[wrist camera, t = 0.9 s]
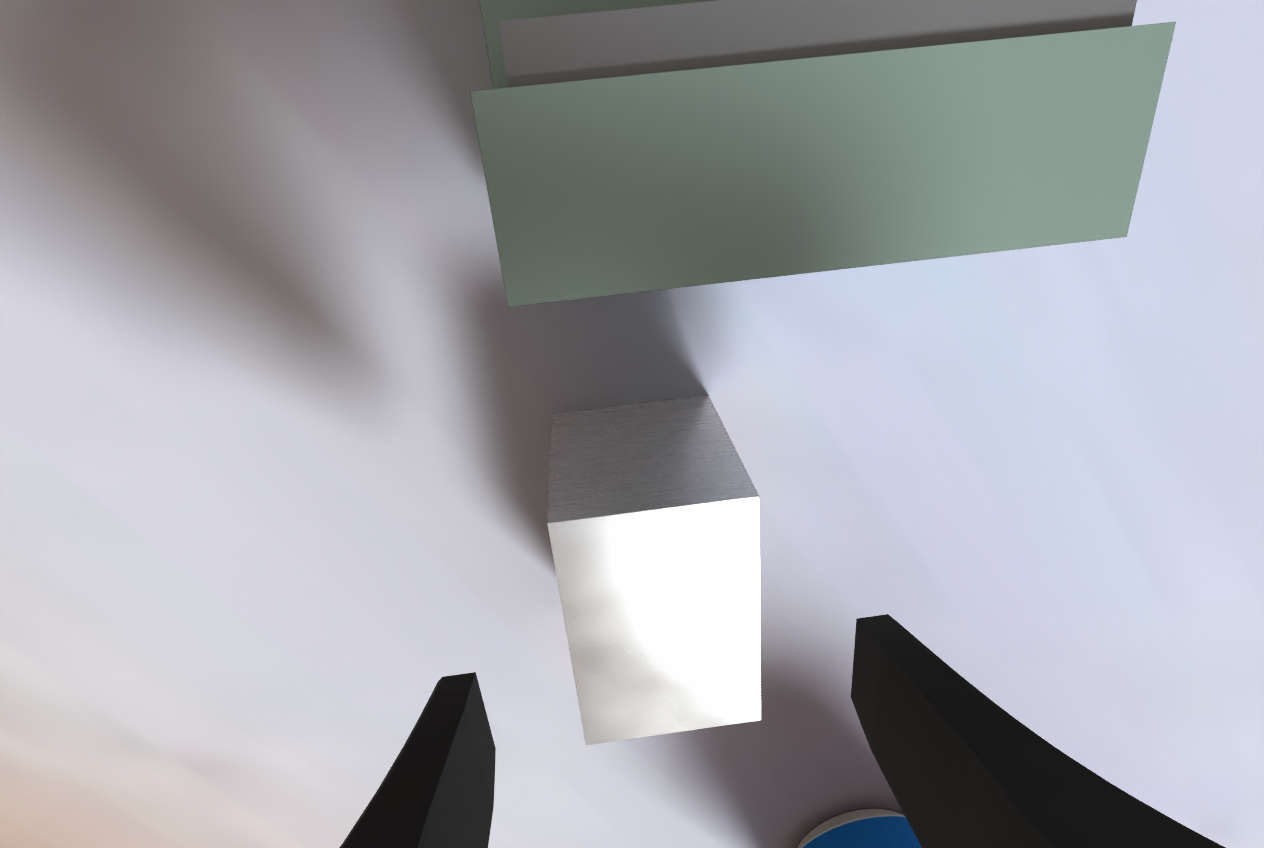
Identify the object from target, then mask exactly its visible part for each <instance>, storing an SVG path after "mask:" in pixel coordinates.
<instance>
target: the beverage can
mask: <svg viewBox="0 0 1264 848" xmlns="http://www.w3.org/2000/svg"><path fill="white" fill-rule="evenodd" d="M797 848H922V847H921V845H920V843H919V841H918V840H917V838H916V836H915V834H914V832H913V830H912V828H911V826H910V824H909V822H908V820H907V819H906V817H905V816H904V815H902V814H900V813H898V812H895V811H891V810H885V809H863V810H856V811H851V812H847V813H844V814H841V815H838V816H836V817H833V818H831V819H829V820H827V821H825V822H823V823H822V824H820V825H818V826H817V827H816V828H814V829H813V830H812V831H810V832H809V833H808V834H807V835H806V836H805V837H804V838H803V840H802V841H801V842H800V844H799V845H798V847H797Z"/></svg>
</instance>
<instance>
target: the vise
mask: <svg viewBox="0 0 1264 848" xmlns="http://www.w3.org/2000/svg"><path fill="white" fill-rule="evenodd" d="M479 1H480V7H481V13H482V20H483V26H484V32H485V38H486V44H487V50H488V57H489V63H490V69H491V75H492V81H493V88H494V89H501V88H508V84H507V77H506V71H505V64H504V58H503V51H502V44H501V38H500V31H499V25H498V21H505V20H516V19H527V18H537V17H548V16H559V15H569V14H580V13H590V12H601V11H612V10H622V9H633V8H643V7H654V6H665V5H675V4H686V3H696V2H707V1H718V0H479Z"/></svg>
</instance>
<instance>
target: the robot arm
mask: <svg viewBox="0 0 1264 848" xmlns="http://www.w3.org/2000/svg"><path fill="white" fill-rule="evenodd" d="M851 698H852V701H853V704H854V706H855V709H856V712H857V714H858V717H859V720H860V723H861V725H862V728H863V730H864V733H865V735H866V738H867V740H868V743H869V746H870V748H871V751H872V753H873V754H874V756H875V758H876V760H877V762H878V764H879V766H880V768H881V770H882V772H883V774H884V776H885V778H886V780H887V782H888V784H889V786H890V788H891V790H892V792H893V794H894V796H895V797H896V799H897V801H898V803H899V805H900V807H901V809H902V811H903V813H904V815H905V817H906V819H907V820H908V822H909V824H910V826H911V828H912V830H913V832H914V834H915V836H916V838H917V840H918V841H919V843H920V845H921V847H922V848H1225V847H1223V846H1221V845H1219V844H1217V843H1215V842H1214V841H1212V840H1210V839H1208V838H1206V837H1204V836H1202V835H1200V834H1198V833H1197V832H1195V831H1193V830H1191V829H1189V828H1187V827H1185V826H1183V825H1182V824H1180V823H1178V822H1176V821H1175V820H1173V819H1171V818H1169V817H1168V816H1166V815H1164V814H1162V813H1160V812H1159V811H1157V810H1155V809H1153V808H1152V807H1150V806H1148V805H1146V804H1145V803H1143V802H1141V801H1139V800H1138V799H1136V798H1134V797H1132V796H1131V795H1129V794H1127V793H1126V792H1124V791H1122V790H1121V789H1119V788H1117V787H1116V786H1114V785H1112V784H1111V783H1109V782H1108V781H1106V780H1104V779H1103V778H1101V777H1100V776H1098V775H1097V774H1095V773H1094V772H1092V771H1090V770H1089V769H1087V768H1086V767H1084V766H1083V765H1081V764H1080V763H1078V762H1076V761H1075V760H1073V759H1072V758H1070V757H1069V756H1067V755H1066V754H1064V753H1063V752H1061V751H1060V750H1058V749H1057V748H1055V747H1054V746H1052V745H1051V744H1050V743H1048V742H1047V741H1045V740H1044V739H1042V738H1041V737H1040V736H1038V735H1037V734H1035V733H1034V732H1033V731H1031V730H1030V729H1029V728H1027V727H1026V726H1024V725H1023V724H1022V723H1020V722H1019V721H1018V720H1016V719H1015V718H1014V717H1012V716H1011V715H1010V714H1008V713H1007V712H1006V711H1004V710H1003V709H1002V708H1000V707H999V706H998V705H997V704H995V703H994V702H993V701H991V700H990V699H989V698H988V697H986V696H985V695H984V694H983V693H981V692H980V691H979V690H978V689H976V688H975V687H974V686H973V685H971V684H970V683H969V682H968V681H966V680H965V679H964V678H963V677H961V676H960V675H959V674H958V673H957V672H955V671H954V670H953V669H952V668H951V667H949V666H948V665H947V664H946V663H945V662H944V661H942V660H941V659H940V658H939V657H938V656H936V655H935V654H934V653H933V652H932V651H931V650H929V649H928V648H927V647H926V646H925V645H924V644H922V643H921V642H920V641H919V640H918V639H917V638H915V637H914V636H913V635H912V634H911V633H910V632H908V631H907V630H906V629H905V628H904V627H903V626H901V625H900V624H899V623H898V622H897V621H895V620H894V619H893V618H892V617H891V616H889V615H888V614H887V615H880V616H873V617H866V618H859V619H857V621H856V635H855V648H854V662H853V676H852V689H851ZM494 781H495V745H494V741H493V737H492V734H491V730H490V726H489V722H488V718H487V715H486V711H485V707H484V703H483V699H482V695H481V692H480V688H479V684H478V680H477V676H476V672H475V673H468V674H460V675H453V676H446V677H442V678H441V679H440V680H439V681H438V683H437V685H436V687H435V689H434V691H433V693H432V695H431V696H430V698H429V700H428V702H427V704H426V706H425V708H424V710H423V712H422V714H421V716H420V718H419V719H418V721H417V723H416V725H415V727H414V729H413V730H412V732H411V734H410V736H409V738H408V739H407V741H406V743H405V745H404V747H403V748H402V750H401V752H400V753H399V755H398V757H397V758H396V760H395V762H394V763H393V765H392V767H391V769H390V770H389V772H388V774H387V775H386V777H385V779H384V780H383V782H382V784H381V785H380V787H379V789H378V790H377V792H376V793H375V795H374V797H373V798H372V800H371V801H370V803H369V804H368V806H367V807H366V809H365V810H364V812H363V813H362V815H361V816H360V818H359V820H358V821H357V823H356V824H355V826H354V827H353V829H352V830H351V832H350V833H349V835H348V836H347V838H346V839H345V841H344V842H343V844H342V845H341V847H340V848H488V842H489V835H490V828H491V821H492V813H493V803H494Z"/></svg>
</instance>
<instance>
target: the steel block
mask: <svg viewBox="0 0 1264 848" xmlns="http://www.w3.org/2000/svg"><path fill="white" fill-rule="evenodd" d="M547 525H548V530H549V536H550V542H551V547H552V553H553V559H554V564H555V570H556V576H557V582H558V587H559V593H560V599H561V604H562V610H563V616H564V622H565V627H566V633H567V639H568V644H569V650H570V656H571V662H572V667H573V673H574V679H575V684H576V690H577V696H578V702H579V707H580V713H581V719H582V724H583V730H584V736H585V741H586V745H591V744H598V743H605V742H612V741H619V740H626V739H633V738H640V737H647V736H654V735H661V734H668V733H675V732H682V731H689V730H696V729H703V728H710V727H717V726H724V725H731V724H738V723H745V722H752V721H759V720H761V650H760V527H759V495H758V493H757V491H756V489H755V487H754V485H753V483H752V481H751V479H750V477H749V475H748V473H747V471H746V469H745V467H744V465H743V463H742V461H741V459H740V457H739V455H738V453H737V451H736V449H735V447H734V445H733V443H732V441H731V439H730V437H729V435H728V433H727V431H726V429H725V427H724V425H723V423H722V421H721V419H720V417H719V415H718V413H717V411H716V409H715V407H714V405H713V403H712V401H711V399H710V397H709V395H703V396H695V397H686V398H678V399H670V400H662V401H653V402H645V403H637V404H629V405H620V406H612V407H604V408H596V409H587V410H579V411H571V412H562V413H554V414H552V422H551V446H550V470H549V495H548V519H547Z"/></svg>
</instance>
